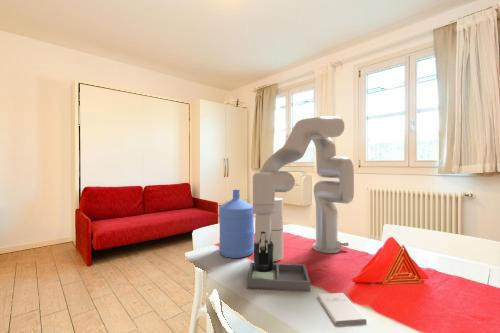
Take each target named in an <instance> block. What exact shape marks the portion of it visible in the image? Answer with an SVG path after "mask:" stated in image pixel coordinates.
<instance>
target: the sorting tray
mask: <svg viewBox="0 0 500 333" xmlns="http://www.w3.org/2000/svg"><path fill="white" fill-rule="evenodd" d="M246 285H247V286H246V289H249V290H262V291H263V290H266V291H267V290H269V291H287V292H288V291H289V292H311V280H310V277H309V273H308V270H307V267H306V264H304V263H303V264H301V263H274V268H273V270H271V271H269V272H259V271H257V270H255V268H254V262H250V264H249V268H248V273H247V279H246Z"/></svg>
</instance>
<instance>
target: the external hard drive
mask: <svg viewBox="0 0 500 333" xmlns="http://www.w3.org/2000/svg"><path fill="white" fill-rule="evenodd" d="M317 299H318V300H319V301H320V304H321V305H322V306H323V308H324V310H325V312H327V314H328V316H329V317H330V318H331V320H332V322H333V321H334V322H333V323H334V324H343V325H352V324H353V325H354V324H355V325H356V324H367V318H366V317H365V316H364V315H363V314H362V313H361V311H360V310H359V309H358V308H357V307H356V306H355V304H354V303H352V301H351V300H350V299H349V298H348V297H347V296H346V295H345V293H344V292H337V293H336V292H335V293H333V292H332V293H319V294H318V295H317Z"/></svg>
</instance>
